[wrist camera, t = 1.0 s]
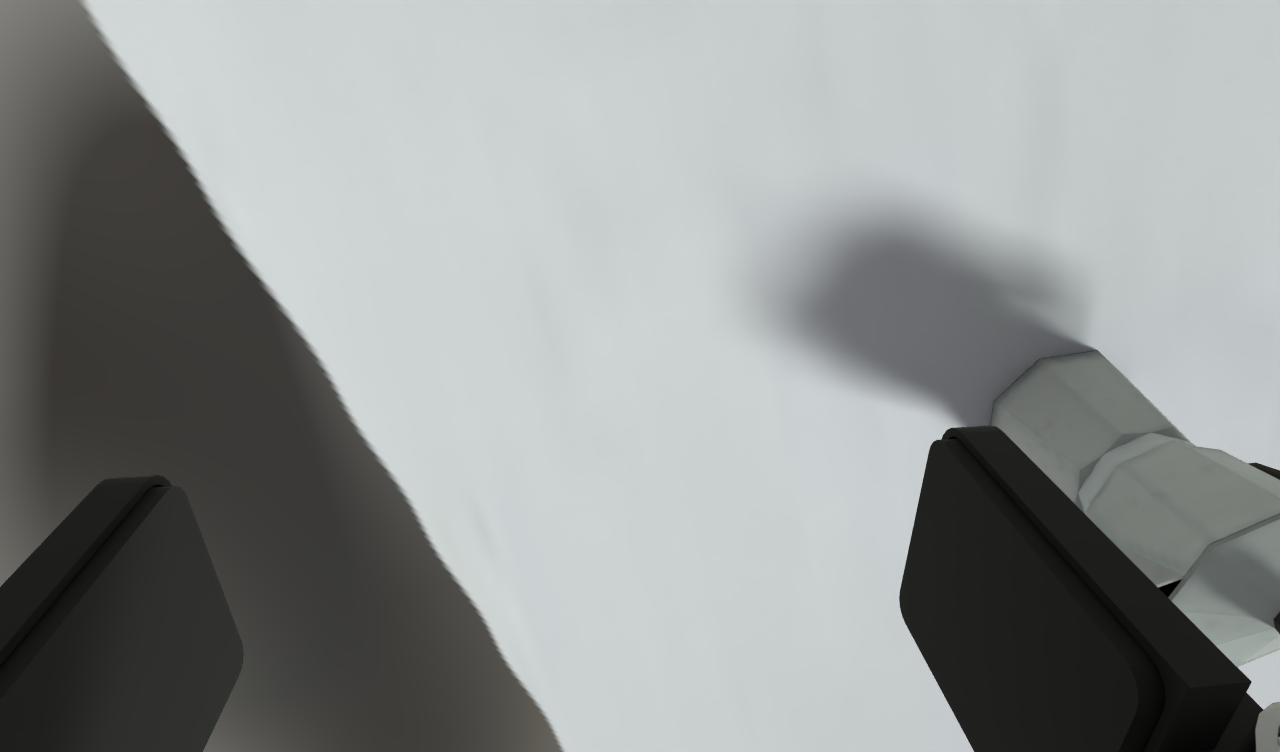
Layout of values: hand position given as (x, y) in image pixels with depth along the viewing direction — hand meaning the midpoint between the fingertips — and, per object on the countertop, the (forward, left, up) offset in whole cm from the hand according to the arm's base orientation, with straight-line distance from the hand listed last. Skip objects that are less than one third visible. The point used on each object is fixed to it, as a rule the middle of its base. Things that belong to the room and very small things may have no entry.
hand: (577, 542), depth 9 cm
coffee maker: (0, +33, -27) cm, 43 cm away
